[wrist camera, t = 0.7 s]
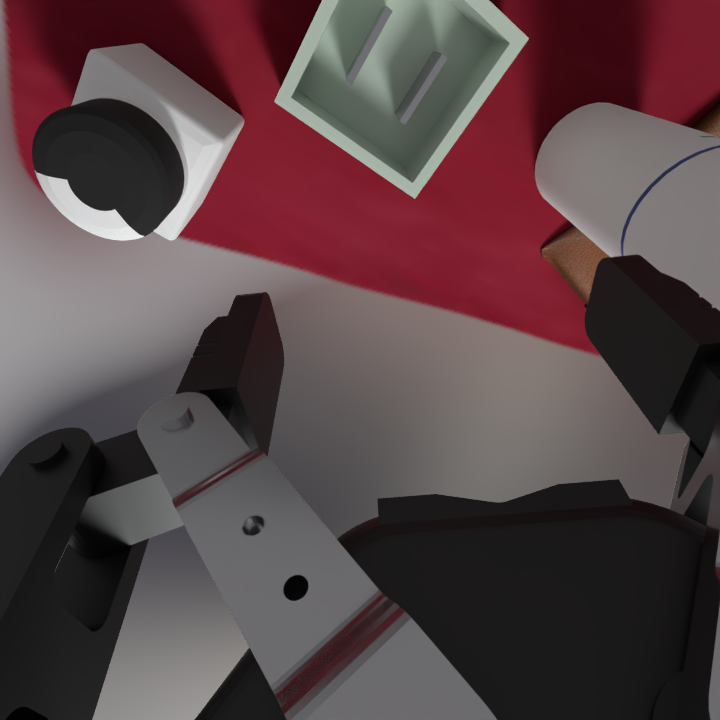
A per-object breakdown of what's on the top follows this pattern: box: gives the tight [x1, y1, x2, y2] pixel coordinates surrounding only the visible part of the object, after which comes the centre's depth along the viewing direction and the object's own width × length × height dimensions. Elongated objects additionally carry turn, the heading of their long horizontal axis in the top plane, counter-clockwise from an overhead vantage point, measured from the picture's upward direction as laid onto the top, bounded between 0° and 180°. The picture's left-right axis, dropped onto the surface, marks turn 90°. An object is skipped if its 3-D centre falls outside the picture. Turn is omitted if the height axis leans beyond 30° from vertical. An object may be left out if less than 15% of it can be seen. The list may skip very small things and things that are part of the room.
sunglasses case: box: [541, 103, 720, 309], centre depth 33 cm, size 18×7×7 cm, turn 139°
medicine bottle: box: [32, 43, 244, 240], centre depth 25 cm, size 7×7×12 cm
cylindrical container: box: [535, 102, 720, 311], centre depth 22 cm, size 7×7×25 cm
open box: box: [274, 0, 529, 199], centre depth 26 cm, size 10×10×4 cm
